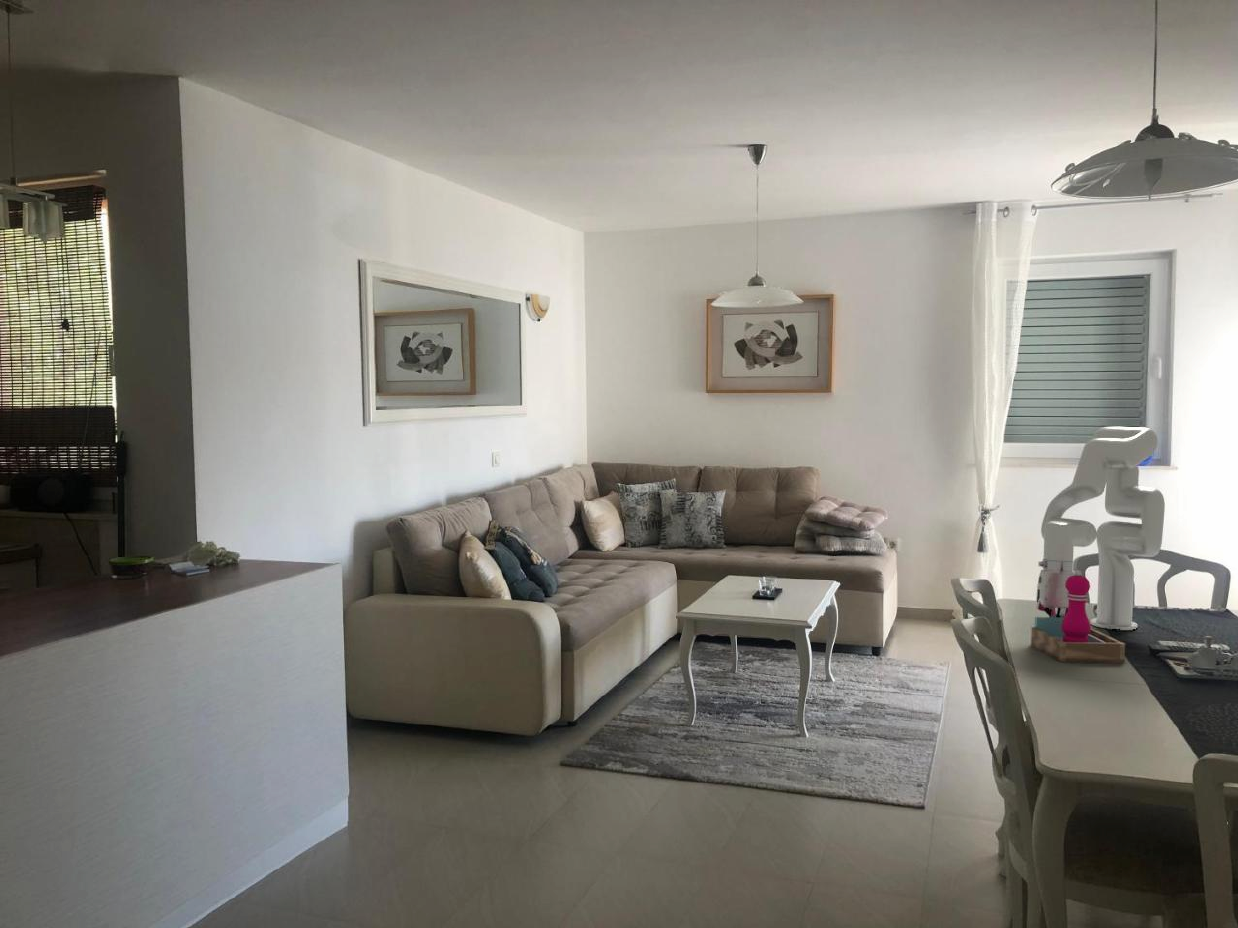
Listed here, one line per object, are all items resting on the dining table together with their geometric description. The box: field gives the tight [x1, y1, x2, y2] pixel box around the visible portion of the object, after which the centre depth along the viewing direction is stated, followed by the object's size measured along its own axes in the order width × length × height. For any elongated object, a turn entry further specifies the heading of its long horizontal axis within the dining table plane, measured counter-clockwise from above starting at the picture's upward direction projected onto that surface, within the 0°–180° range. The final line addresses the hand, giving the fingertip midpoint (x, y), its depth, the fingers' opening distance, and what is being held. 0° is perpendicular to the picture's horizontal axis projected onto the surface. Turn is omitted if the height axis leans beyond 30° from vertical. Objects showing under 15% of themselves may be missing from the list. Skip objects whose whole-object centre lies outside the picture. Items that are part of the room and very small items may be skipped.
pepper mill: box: [1061, 569, 1092, 642], centre depth 263 cm, size 7×7×20 cm
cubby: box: [1030, 626, 1126, 664], centre depth 263 cm, size 18×16×5 cm
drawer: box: [1034, 616, 1106, 643], centre depth 266 cm, size 16×13×6 cm
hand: (1055, 631), depth 275 cm, fingers closed
